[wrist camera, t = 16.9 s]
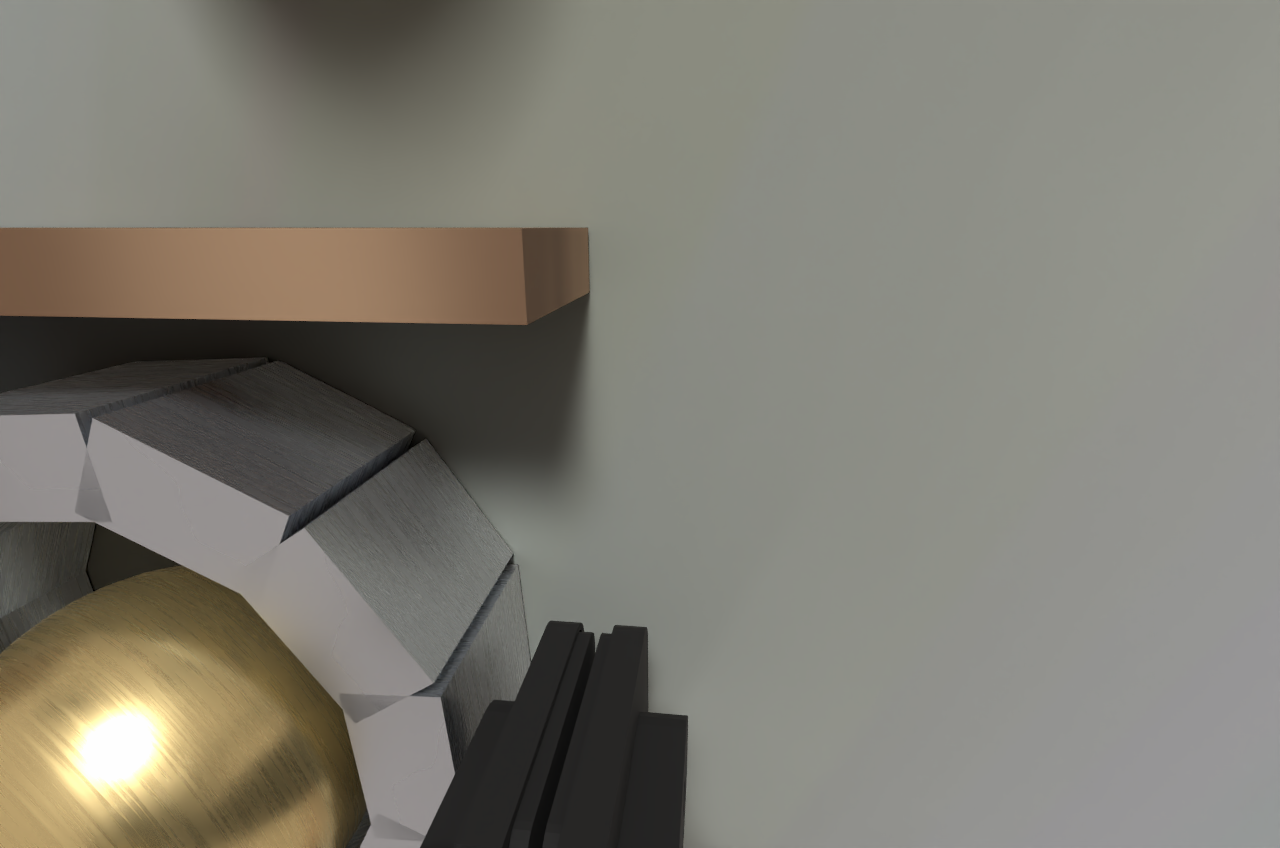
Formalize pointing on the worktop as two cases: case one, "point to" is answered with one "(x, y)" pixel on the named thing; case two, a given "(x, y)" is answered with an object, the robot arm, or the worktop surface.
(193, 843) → the brass ball
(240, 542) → the steel race
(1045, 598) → the worktop surface
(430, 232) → the walnut housing
